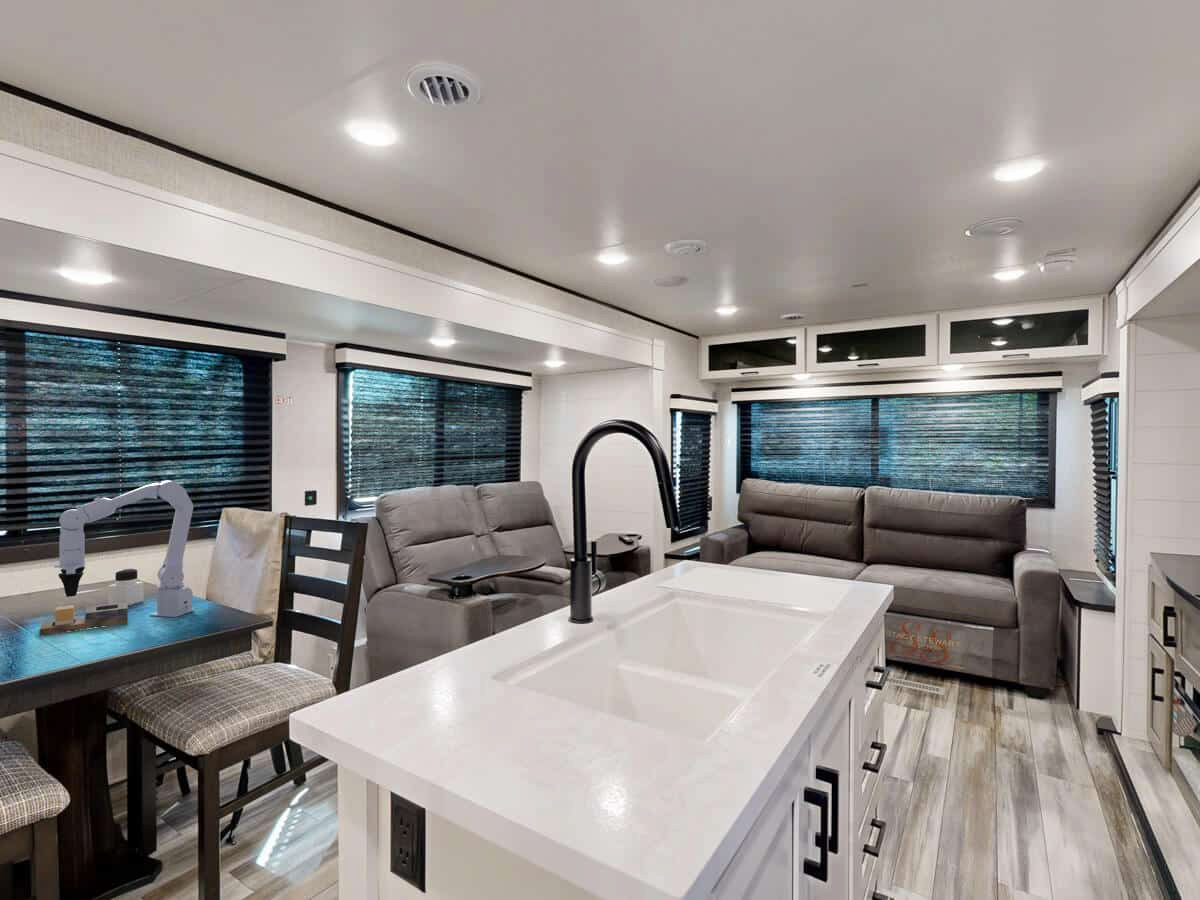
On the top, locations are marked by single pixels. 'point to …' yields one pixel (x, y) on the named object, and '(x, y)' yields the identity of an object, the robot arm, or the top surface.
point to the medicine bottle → (126, 588)
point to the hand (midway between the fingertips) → (71, 593)
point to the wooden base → (91, 619)
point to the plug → (64, 615)
